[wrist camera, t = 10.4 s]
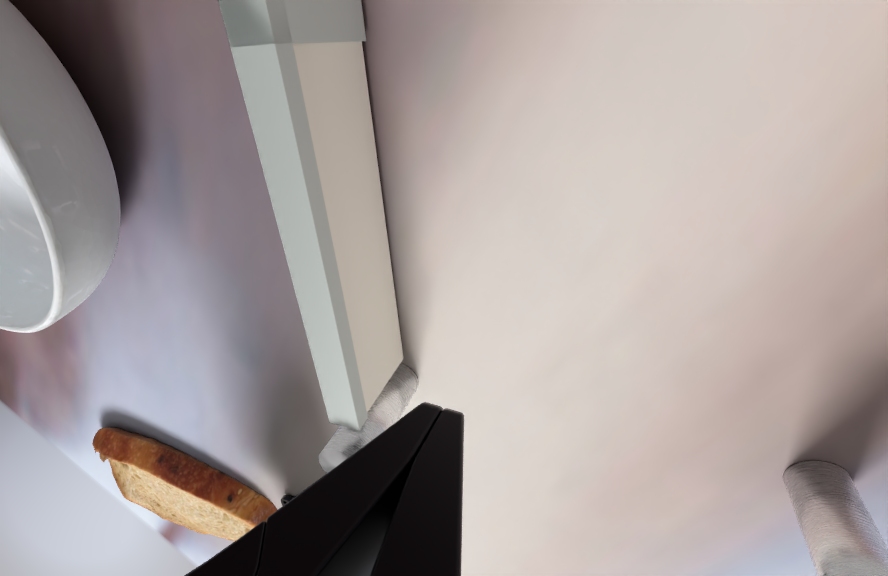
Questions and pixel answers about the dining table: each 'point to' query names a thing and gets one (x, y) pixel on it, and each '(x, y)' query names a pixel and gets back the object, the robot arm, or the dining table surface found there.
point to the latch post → (835, 521)
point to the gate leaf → (323, 186)
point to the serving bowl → (49, 185)
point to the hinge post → (372, 419)
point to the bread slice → (180, 486)
